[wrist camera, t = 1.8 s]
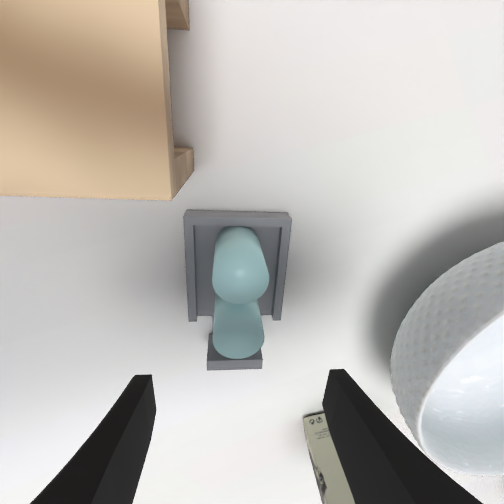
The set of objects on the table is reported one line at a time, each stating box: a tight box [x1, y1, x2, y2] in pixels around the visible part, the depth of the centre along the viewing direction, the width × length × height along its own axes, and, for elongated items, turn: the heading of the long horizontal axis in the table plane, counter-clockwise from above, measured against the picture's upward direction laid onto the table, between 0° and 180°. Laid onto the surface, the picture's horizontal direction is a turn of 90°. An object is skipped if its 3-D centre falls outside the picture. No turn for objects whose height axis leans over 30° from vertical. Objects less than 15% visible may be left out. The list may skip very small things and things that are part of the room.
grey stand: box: [183, 210, 292, 370], centre depth 16 cm, size 10×6×5 cm, turn 177°
